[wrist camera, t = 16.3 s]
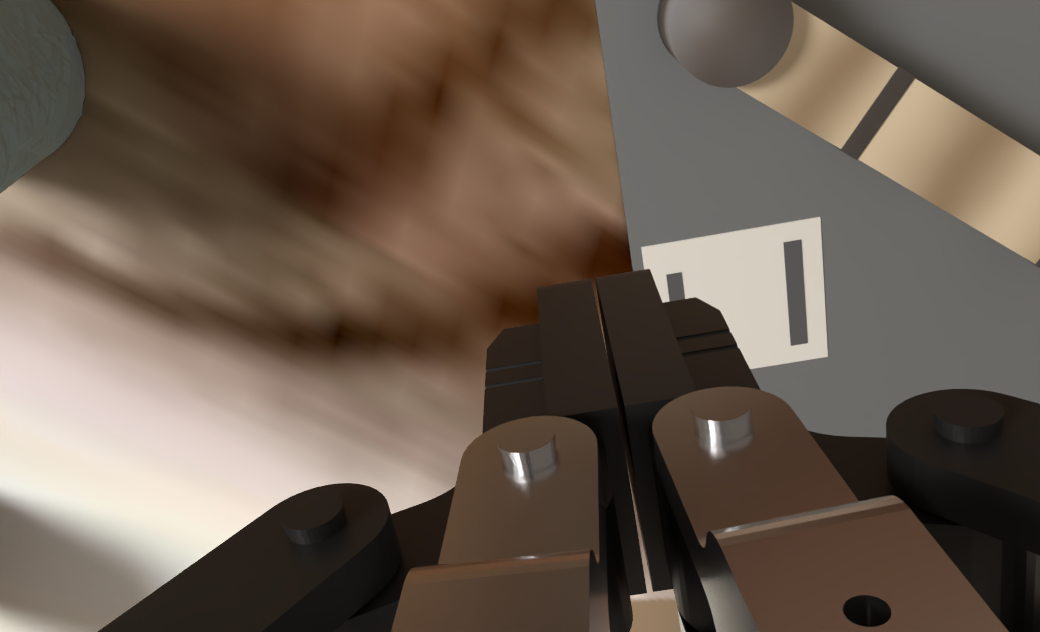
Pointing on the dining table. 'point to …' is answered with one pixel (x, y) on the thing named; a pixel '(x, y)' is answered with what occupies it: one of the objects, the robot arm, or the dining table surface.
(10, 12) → the teal cup
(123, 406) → the dining table surface
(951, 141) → the swing arm
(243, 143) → the dining table surface
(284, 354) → the dining table surface
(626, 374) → the robot arm
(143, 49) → the dining table surface
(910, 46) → the label mat
